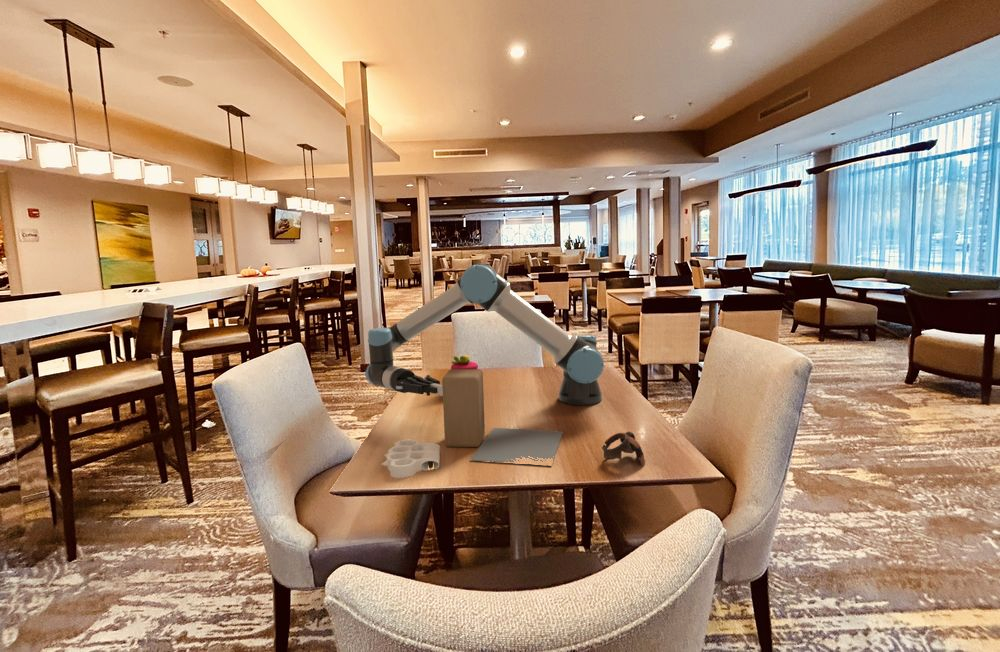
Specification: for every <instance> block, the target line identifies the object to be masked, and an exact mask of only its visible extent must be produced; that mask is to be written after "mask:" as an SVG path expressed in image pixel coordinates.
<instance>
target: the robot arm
mask: <svg viewBox="0 0 1000 652" xmlns="http://www.w3.org/2000/svg"><path fill="white" fill-rule="evenodd" d="M455 281H456V282H455V285H453V286H452V287H450V288H448V289H446V290H445V291H444V292H443V293H440V294H439V295H438V296H436V297H434V298H433V299H432V300H430V301H428V302H427V303H426V304H424V305H422V306H421V307H419V308H418V309H416V310H415V311H412V313H410V314H408V315H407V316H405V317H403V318H402V319H400V320H399V321H398V322H396V323H394V324H393V325H391V326H390V327H375V328H371V329H369V330H368V331H367V334H368V335H367V337H368V339H367V343H368V350H369V353H368V354H369V362H370V363H369V364H368V365H367V367H366V370H365V371H364V373H365V374H364V376H365V379H366V381H368V383H370V384H372V385H374V386H376V387H381V388H385V389H389V390H392V391H394V392H399V393H402V394H407V393H411V394H416V395H417V394H418V395H425V394H426V396H428V397H429V396H431V394H433V395H437V396H440V397H443V390H442V384H441V381H440V380H438V379H436V378H433V377H432V376H431V375H429V374H427V375H426V376H424V377H421V376H420V375H419V376H418V375H415V373H414V372H413V370H411V369H407V368H403V367H400V366H395V365H394V352H393V351H395V350H396V349H398V348H399V347H401V346H402V345H404V344H405V343H407V342H408V341H410V340H411V339H413V338H415V337H416V336H418V335H419V334H422V333H423V332H424V331H425V330H427V329H429V328H431V327H432V326H434V325H435V324H437V323H438V322H440V321H441V320H443V319H445V318H446V317H448V316H450V315H451V314H453V313H455V312H456V311H458V310H459V309H461V308H462V307H464V306H465V305H467V304H469V305H472V304H474V303H475V304H477V305H478V306H480V307H481V308H483V309H484V310H485V311H486V312H487V313H488V312H495V313H497V314H498V315H499V316H500V317H502V318H503V319H505V320H506V321H507V322H508V323H510V324H511V325H512V326H513V327H515V328H516V329H517V330H519V331H520V332H522V333H523V334H524V335H525V336H526V337H528V338H529V339H531V340H532V341H533V342H535V343H536V344H537V345H539V346H540V347H541V348H543V350H545V351H546V352H548V353H549V354H550V355H552V356H553V360H554V364H556V365H557V366H558V367H560V368H561V369H562V370H563V371H562V372H563V378H562V381H561V385H560V388H559V391H558V400H559V401H560V402H561V403H564V404H568V405H574V406H575V405H576V406H588V405H589V406H590V405H595V404H598V403H600V402H601V401H602V400H603V394H602V390H601V388H600V383H599V381H598V379H599V378H600V377H601V375H602V374H603V372H604V371H603V370H604V368H605V363H604V362H605V361H604V357H603V356H602V354H601V352H600V351H599V350H598V349H597V344H598V342H597V336H595V335H592V334H591V335H587V334H585V335H584V334H583V335H581V334H580V335H578V334H569V333H568V332H567V331H565V330H564V329H562V328H561V327H560V326H559V325H557V324H556V323H555V322H553V321H552V320H551V319H550V318H548V317H547V316H545V314H543V313H542V312H541V311H539V310H538V309H536V308H535V307H534V306H532V305H531V304H530V303H529V302H527V301H526V300H525V299H524V298H522V297H521V296H519V295H518V294H517V293H515V291H514V290H512V289H511V283H510V282H509V281H508V280H506V279H505V278H504V277H502V275H500V274H499V273H498V272H497V270H496V269H495V268H494V267H492V265H489V264H487V263H478V264H477V263H476V264H472V265H471V266H469V267H467V268H466V269H465V271H464V272H463V273H462V275H461V277H460V278H459V279H457V280H455ZM424 393H425V394H424Z"/></svg>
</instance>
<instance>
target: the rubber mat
mask: <svg viewBox="0 0 1000 652" xmlns="http://www.w3.org/2000/svg"><path fill="white" fill-rule="evenodd" d="M562 434H564V431H562V430H543V429H541V430H540V429H524V428H522V429H521V428H505V427H504V428H503V427H493V428H491V430H490V432H489V433H488V435H487V436H486V437H485V439H484V441H483V442H481V444H480V446H479V447H478V448H477V450H476V452H474V454H473V456H471V458H470V460H472V461H471V462H473V461H490V462H492V461H493V462H505V461H506V462H508V461H509V462H514V461H513V460H515V461H516V459H515V458H520V459H522V457H525V458H529V457H528V456H530V457H533V458H535V459H537V457H538V458H543V459H545V458H546V459H548V458H550V459H551V458H554V457H556V455H557V452H558V449H559V447H560V443H561V441H562V438H561V437H563V435H562ZM557 448H558V449H557ZM556 451H557V452H556ZM555 454H556V455H555ZM521 456H522V457H521ZM553 456H554V457H553ZM507 459H508V460H507ZM511 459H513V460H511ZM529 459H532V458H529ZM535 459H532V460H534V461H538V460H539V459H538V460H535ZM554 459H555V458H554ZM518 461H519V460H518ZM540 461H542V460H540ZM545 461H546V460H545ZM542 462H543V461H542Z"/></svg>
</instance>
